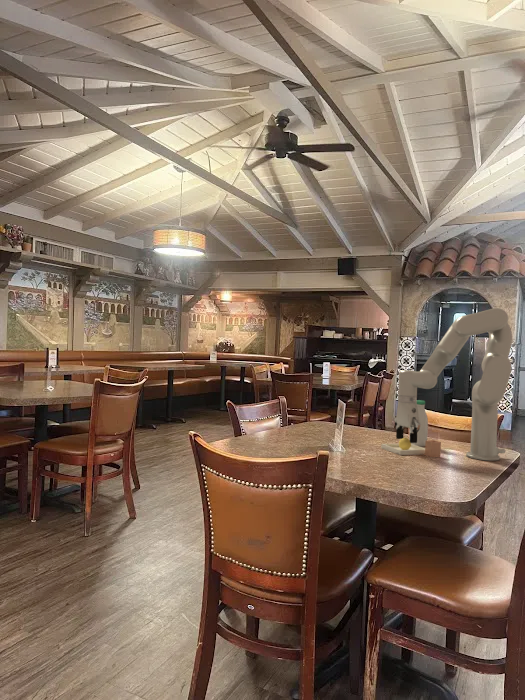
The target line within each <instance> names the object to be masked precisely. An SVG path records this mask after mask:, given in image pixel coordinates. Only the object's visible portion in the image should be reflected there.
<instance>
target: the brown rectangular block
mask: <svg viewBox="0 0 525 700" xmlns="http://www.w3.org/2000/svg"><path fill="white" fill-rule="evenodd" d="M424 448H425V454H424V456H427V457H430V458H441V450H442V449H441V448H442V441H440V440H435V439H431V440H430V439H429V440H428V439H427V440H426V443H425V446H424Z"/></svg>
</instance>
